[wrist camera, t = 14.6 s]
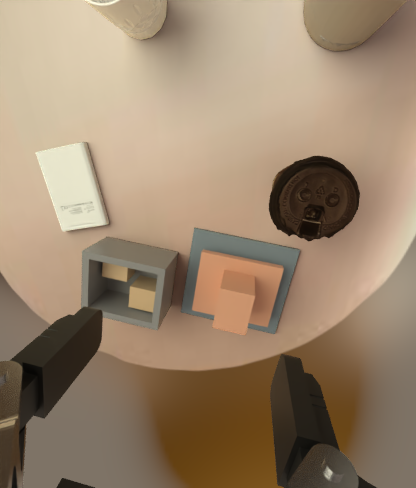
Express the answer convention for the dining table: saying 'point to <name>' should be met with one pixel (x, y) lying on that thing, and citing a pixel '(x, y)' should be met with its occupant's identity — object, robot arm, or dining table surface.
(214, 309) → the lid
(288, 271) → the mat
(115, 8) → the white cup
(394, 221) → the dining table surface
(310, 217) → the coffee cup
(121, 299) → the storage box
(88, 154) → the external hard drive
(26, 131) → the dining table surface
